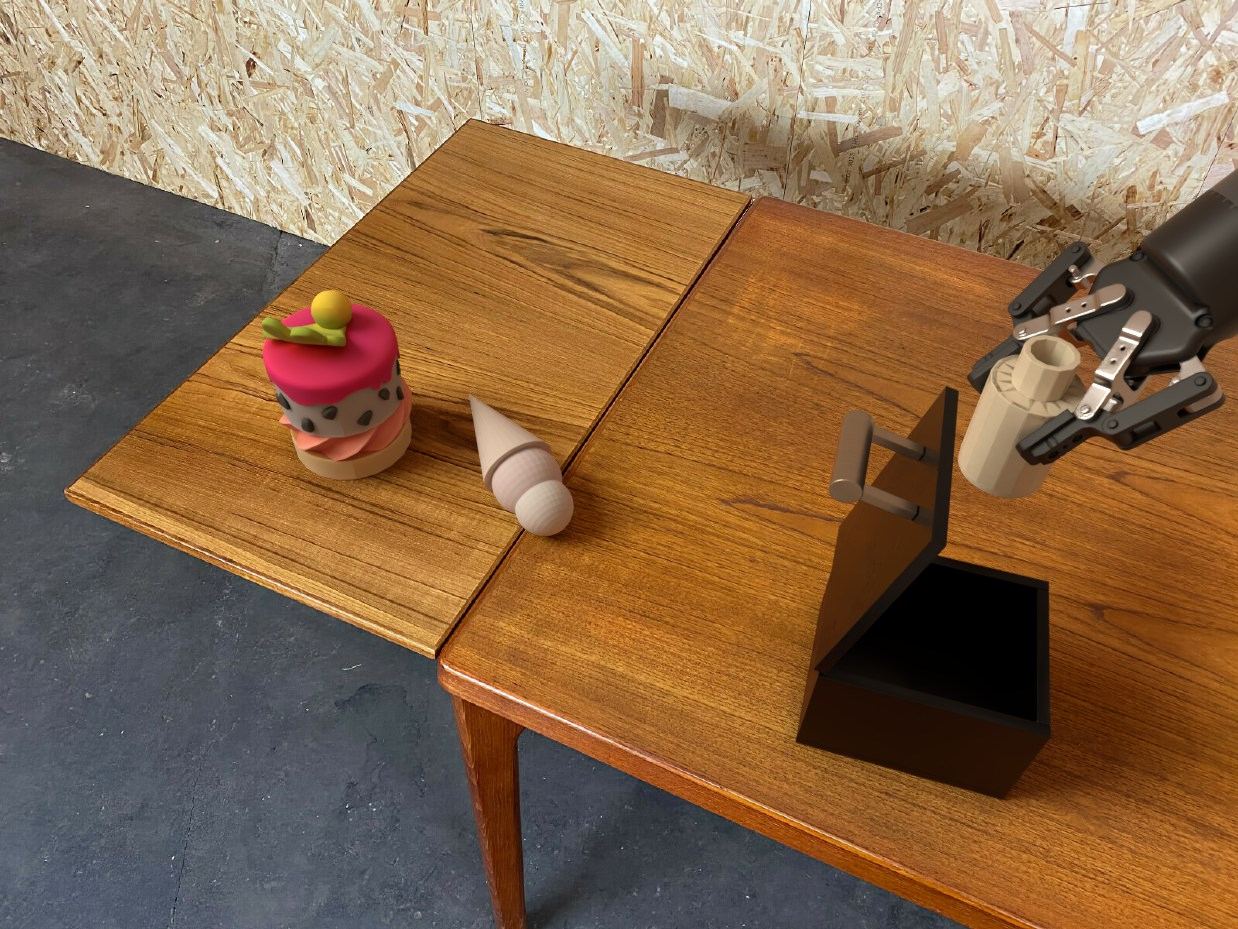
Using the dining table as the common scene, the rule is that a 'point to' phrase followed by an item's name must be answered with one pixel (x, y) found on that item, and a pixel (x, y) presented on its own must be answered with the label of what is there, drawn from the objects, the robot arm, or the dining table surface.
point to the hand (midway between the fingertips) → (999, 420)
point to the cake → (339, 386)
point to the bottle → (1019, 415)
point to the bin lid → (885, 519)
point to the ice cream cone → (521, 472)
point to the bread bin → (942, 681)
